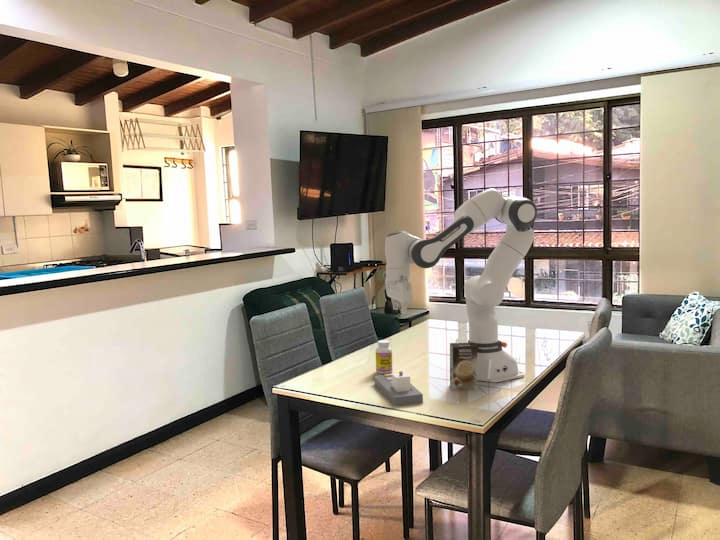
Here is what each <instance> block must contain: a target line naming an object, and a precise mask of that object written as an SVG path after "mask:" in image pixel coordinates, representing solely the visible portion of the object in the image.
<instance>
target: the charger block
mask: <svg viewBox="0 0 720 540" xmlns="http://www.w3.org/2000/svg"><path fill="white" fill-rule="evenodd" d="M391 374H392V386H393V391H394V392H395V393H396V392H405V391H410V383H411V375H409V374H408V373H407V372H403V371H399V372H398V373H391Z"/></svg>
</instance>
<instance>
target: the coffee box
mask: <svg viewBox="0 0 720 540" xmlns="http://www.w3.org/2000/svg"><path fill="white" fill-rule="evenodd" d="M449 386H450V387H451V389H452V390H454V391H457V390H459V391H460V390H463V389H464V390H477V389H478V380H477V346H476V344H474V343H468V342H449Z"/></svg>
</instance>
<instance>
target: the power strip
mask: <svg viewBox="0 0 720 540" xmlns="http://www.w3.org/2000/svg"><path fill="white" fill-rule="evenodd" d="M392 374H393V373H388V374H381V375H375V376H374V379H373V380H374V385H375V386H376V387H377V388H378V389H379V390H380V391H381V392H382V394H383V395H384V396H385V397H386V398H387V399H388V400H389V401H390V402H391V404H392V405H393V406H395V407H396V406H398V407H399V406H404V405H405V406H406V405H415V403H416V404H421V403H422V404H423V403H424V398H423V396H424V395H423V393H422V392H421V391H419V389H417V388H416V387H415V386H414V385H413V384H412V383H411V382H410V391H405V392H396V393H395V392H394V391H393V386H392Z"/></svg>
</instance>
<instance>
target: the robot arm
mask: <svg viewBox="0 0 720 540" xmlns="http://www.w3.org/2000/svg"><path fill="white" fill-rule="evenodd" d="M537 215H538V207H537V205H536V204H535V203H534V202H533V200H531V199H529V198H527V197H523V196H515V195H511V196H508V195H504V196H503V194H501V192H500V191H498V190H497V189H495V188H488V189H485V190H483V191H481V192H479V193H477V194H475V195H473V196H472V197H470V198H469V199H467V200H466V201H465V202H463V203H462V204H461V205H460V206H458V208H456V210H454V214H453V221H452V222H451V223H450V225H449V226H447V227H446V228H444V230H442V231H441V232H439V233H438V234H436V235H435V236H433V237H432V238H429V239H425V238H424V239H423V238H421V237H417V236H414V235H412V234H410V233H408V232H407V231H405V230H399V231H394V232H390V233H389V234H387V235H386V237H385V243H384V254H385V256H384V257H385V259H386V260H385V261H386V264H385V271H384V272H383V278H384V279H385V280H384V284H385V292H386V296H387V297H388V298H391V304H392V309H393V310H394V311H398V310H399V303H398V302H400V303H401V309H400V313H401V314H403V315H406V314H408V307H409V304H410V303H413V287H412V283H411V282H410V281H409V280H411V269H410V267H411V266H410V265H411V264H414V265H416V266H417V267H419V268H421V269H429V268H433V267H434V266H436V265H437V264H438V263H439V262H440V259H441V258H442V256H443V255H444V254H445V252H446V251H447V250H449V249H450V248H452V247H453V246H454V245H455V244H456V243H458V242H459V241H460V240H462V239H463V238H464V237H466V236H467V235H469V234H471V233H473V232H476V231H477V230H478V229H480V228H481V227H483V226H484V225H486V224H487V223H488V222H490V221H491V220H493V219H495V220H496V221H497V222H499V223H501V224H505V225H506V229H505V232H504V235H503V236H502V237H501V239H500V240H499V242H498V243H497V245H496V246H495V247H494V249H493V251H492V252H491V253H490V254H489V256H488V258H487V260H486V264H485V266H484V269H483V271H482V273H481V274H480V275H479V274H477V275H474V276H470V277H469V278H468V279H467V280H466V281H465V283H464V285H463V289H464V294H465V296H464V297H465V305H466V312H467V317H468V318H467V319H468V320H467V321H468V340H467V343H474V344H476V346H477V381H480V382H481V381H482V382H488V383H499V382H504V381H510V380H515V379H521V378H524V377H525V374H524V372H523V371H522V370H520V369H519V366H518V362H517V360H516V358H514V357H513V356H512V355H511V354H509V353H508V352H506V351H505V350H504V349H505V348H507V347H508V343H507V342H505V341H501V340H499V330H498V329H499V326H498V325H499V321H498V317H497V314H496V307H498V306H500V304H501V303H502V302H503V301H504V296H505V295H504V294H505V292H506V289H507V288H508V285H509V284H510V281H511V278H512V276H513V274H515V273H514V272H515V271H516V270H517V268H518V267H519V265H520V264H521V263H522V261H523V260H524V259H525V256H526V255H527V254H528V252H529V250H530V248H531V246H532V244H533V242H534V240H535V237H536V236H535V231H534V229H533V227H534V225H535V221H536V220H537ZM503 348H504V349H503Z"/></svg>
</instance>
